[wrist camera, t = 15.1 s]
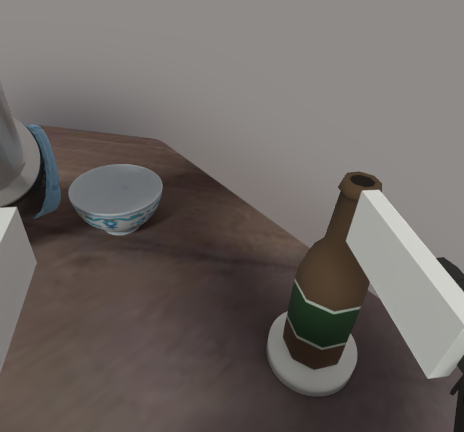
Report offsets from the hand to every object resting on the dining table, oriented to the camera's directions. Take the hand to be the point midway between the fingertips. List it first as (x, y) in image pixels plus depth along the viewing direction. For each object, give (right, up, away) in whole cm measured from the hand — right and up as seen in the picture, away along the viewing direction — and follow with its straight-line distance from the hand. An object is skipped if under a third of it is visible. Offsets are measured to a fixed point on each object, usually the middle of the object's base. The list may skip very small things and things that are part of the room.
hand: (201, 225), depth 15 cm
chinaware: (-18, -1, +53) cm, 56 cm away
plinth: (+11, -18, +34) cm, 40 cm away
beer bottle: (+11, -16, +33) cm, 38 cm away
